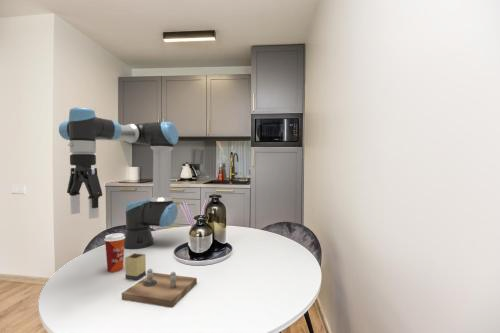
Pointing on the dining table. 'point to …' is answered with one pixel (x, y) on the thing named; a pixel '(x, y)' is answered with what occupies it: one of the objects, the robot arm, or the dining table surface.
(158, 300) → the pin board
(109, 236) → the paper cup
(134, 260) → the sleeve
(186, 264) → the dining table surface
